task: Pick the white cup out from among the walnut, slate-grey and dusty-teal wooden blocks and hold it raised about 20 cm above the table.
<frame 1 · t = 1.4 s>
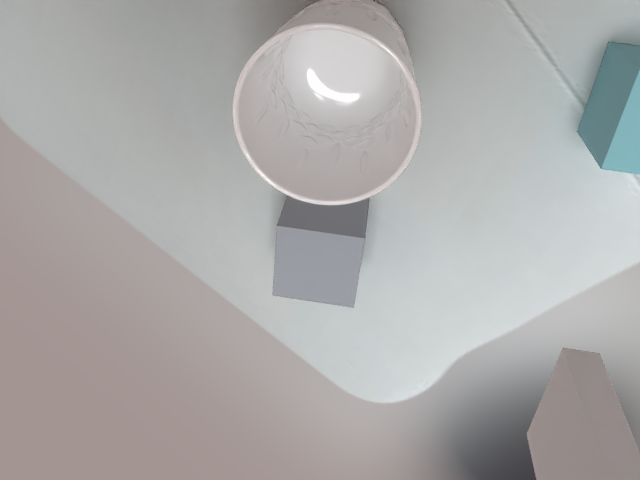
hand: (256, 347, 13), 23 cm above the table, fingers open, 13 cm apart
dusty teal block: (638, 94, 32), on the table
white cup: (346, 55, 33), on the table
slate grey block: (326, 224, 39), on the table
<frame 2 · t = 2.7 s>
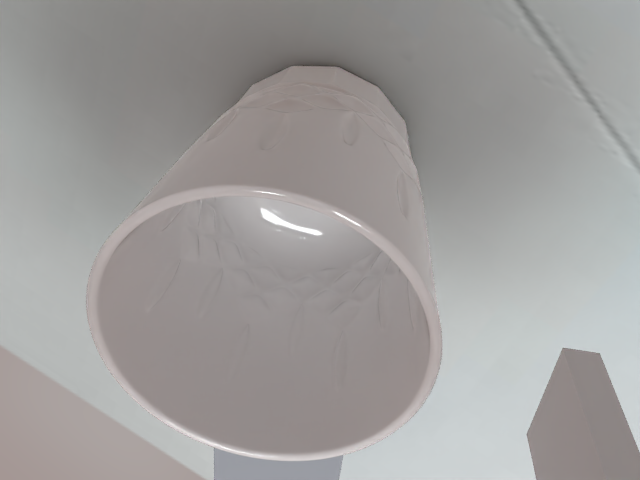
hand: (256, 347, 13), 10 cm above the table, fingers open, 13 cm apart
white cup: (318, 153, 22), on the table
slate grey block: (296, 372, 28), on the table
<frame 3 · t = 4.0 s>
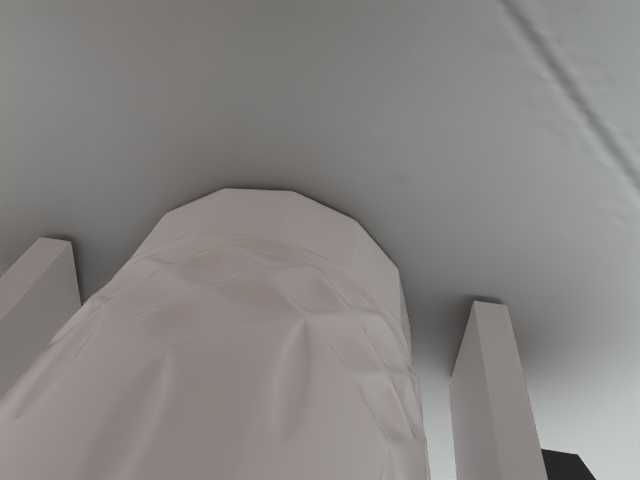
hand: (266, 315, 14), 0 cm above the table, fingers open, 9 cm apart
white cup: (270, 301, 15), on the table
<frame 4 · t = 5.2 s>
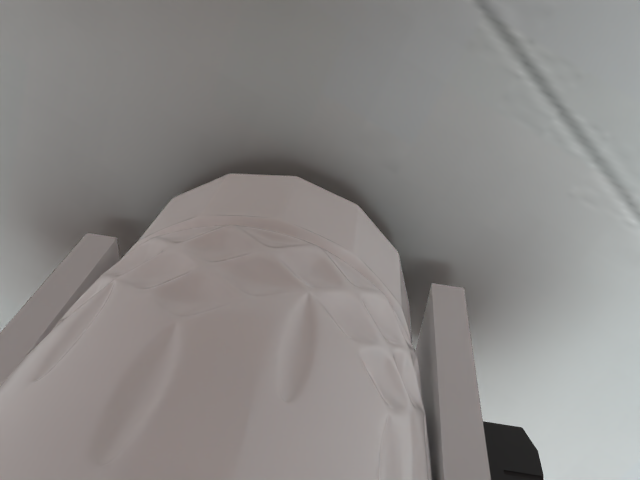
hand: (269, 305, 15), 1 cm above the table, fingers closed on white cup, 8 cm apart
white cup: (274, 286, 15), on the table, touching gripper
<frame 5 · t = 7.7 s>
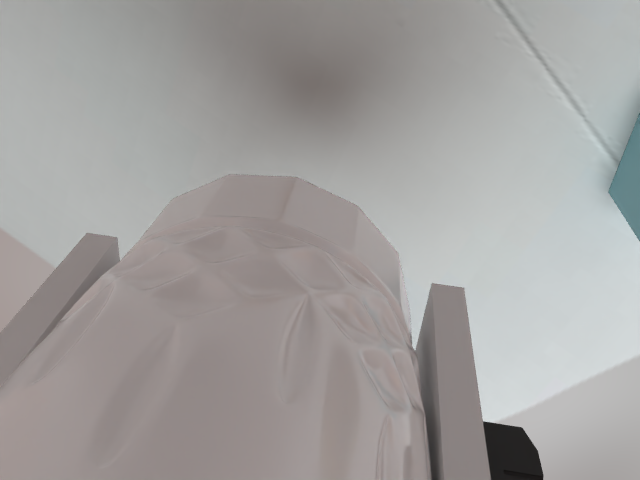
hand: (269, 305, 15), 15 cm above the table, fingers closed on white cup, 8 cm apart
white cup: (274, 286, 15), point 15 cm above the table, touching gripper
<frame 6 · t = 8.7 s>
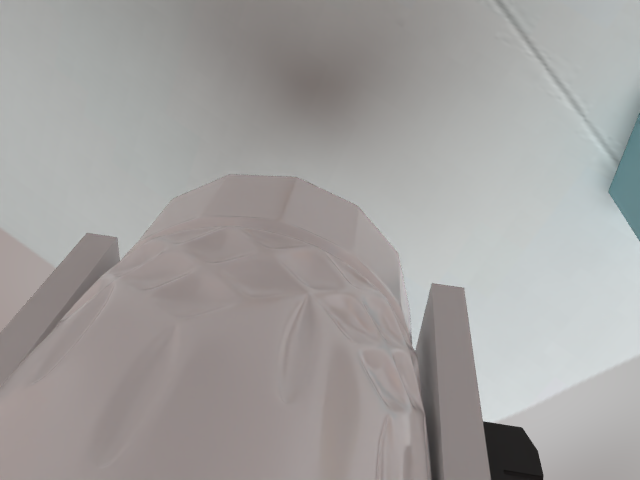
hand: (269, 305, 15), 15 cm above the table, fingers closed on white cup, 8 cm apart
white cup: (274, 286, 15), point 15 cm above the table, touching gripper
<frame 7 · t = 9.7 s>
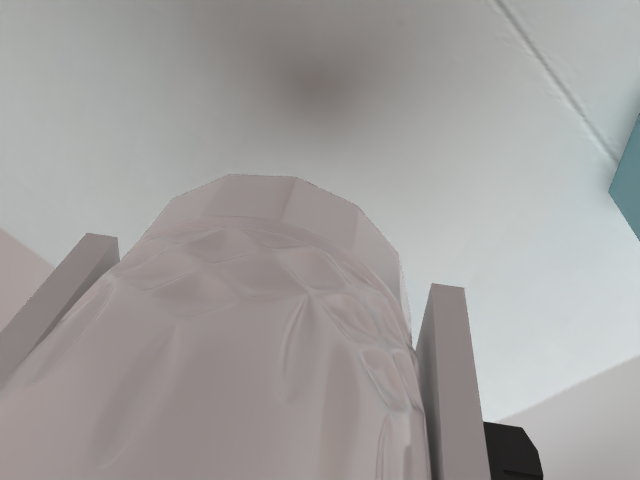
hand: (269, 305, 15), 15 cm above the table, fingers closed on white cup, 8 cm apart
white cup: (274, 286, 15), point 15 cm above the table, touching gripper
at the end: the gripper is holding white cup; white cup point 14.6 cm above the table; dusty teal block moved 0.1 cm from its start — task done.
